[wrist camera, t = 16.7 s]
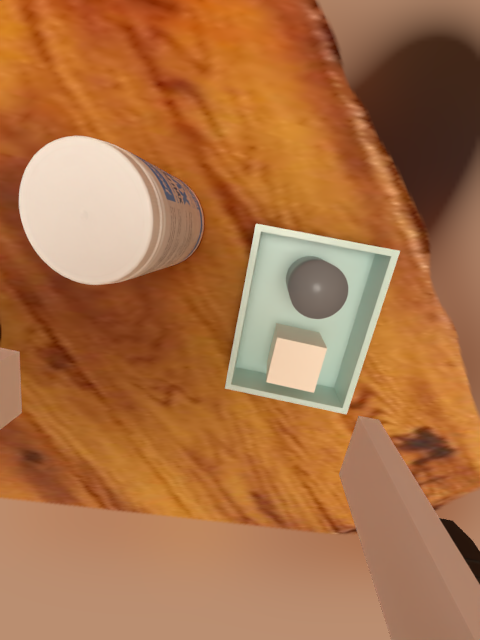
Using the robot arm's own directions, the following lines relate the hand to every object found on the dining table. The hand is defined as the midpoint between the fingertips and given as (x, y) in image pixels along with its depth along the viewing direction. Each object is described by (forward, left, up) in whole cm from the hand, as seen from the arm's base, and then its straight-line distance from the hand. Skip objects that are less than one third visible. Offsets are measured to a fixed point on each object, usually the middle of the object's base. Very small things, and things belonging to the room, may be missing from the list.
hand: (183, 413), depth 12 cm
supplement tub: (-10, +6, -25) cm, 27 cm away
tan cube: (+7, -5, -24) cm, 25 cm away
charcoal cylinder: (+7, +3, -24) cm, 25 cm away
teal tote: (+7, -1, -24) cm, 25 cm away
